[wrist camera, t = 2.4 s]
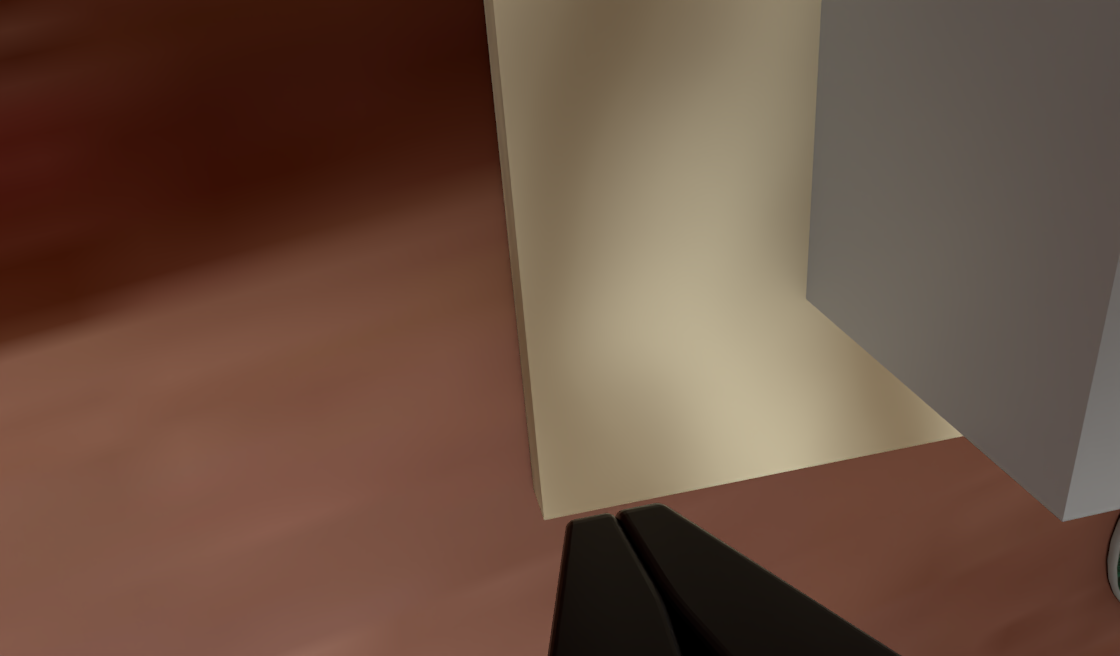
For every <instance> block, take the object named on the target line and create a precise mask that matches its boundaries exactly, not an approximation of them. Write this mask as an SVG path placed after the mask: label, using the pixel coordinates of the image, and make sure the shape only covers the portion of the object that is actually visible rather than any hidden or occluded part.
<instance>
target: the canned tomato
mask: <svg viewBox="0 0 1120 656" xmlns="http://www.w3.org/2000/svg"><path fill="white" fill-rule="evenodd" d="M1108 578H1109V582H1110V585H1111V587H1112V590H1113V593H1114V595H1115V596H1116V597H1117V599H1118V600H1119V601H1120V518H1119V520H1118V523H1117V525H1116V528H1115V531H1114V533H1113V536H1112V539H1111V543H1110V549H1109V554H1108Z"/></svg>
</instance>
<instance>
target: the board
mask: <svg viewBox="0 0 1120 656" xmlns="http://www.w3.org/2000/svg"><path fill="white" fill-rule="evenodd" d="M821 1H822V0H484V9H485V19H486V29H487V38H488V48H489V58H490V68H491V77H492V87H493V97H494V107H495V116H496V126H497V136H498V146H499V155H500V165H501V175H502V185H503V195H504V204H505V214H506V224H507V234H508V243H509V253H510V263H511V273H512V282H513V292H514V302H515V312H516V321H517V331H518V341H519V351H520V360H521V370H522V380H523V390H524V399H525V409H526V419H527V429H528V438H529V448H530V458H531V468H532V477H533V487H534V492H535V495H536V498H537V501H538V504H539V507H540V510H541V512H542V515H543V518H544V520H547V519H552V518H557V517H562V516H567V515H572V514H577V513H582V512H587V511H592V510H597V509H602V508H607V507H612V506H617V505H622V504H627V503H632V502H637V501H642V500H647V499H652V498H657V497H662V496H667V495H672V494H677V493H682V492H687V491H692V490H697V489H702V488H707V487H712V486H717V485H722V484H727V483H732V482H737V481H742V480H747V479H752V478H757V477H762V476H767V475H772V474H777V473H782V472H787V471H792V470H797V469H802V468H806V467H811V466H816V465H821V464H826V463H831V462H836V461H841V460H846V459H851V458H856V457H861V456H866V455H871V454H876V453H881V452H886V451H891V450H896V449H901V448H906V447H911V446H916V445H921V444H926V443H931V442H936V441H941V440H946V439H951V438H956V437H961V436H963V435H962V434H961V433H960V432H959V431H957V430H956V429H955V428H954V427H953V426H952V425H950V424H949V423H948V422H947V421H946V420H945V419H944V418H942V417H941V416H940V415H939V414H938V413H937V412H936V411H934V410H933V409H932V408H931V407H930V406H929V405H927V404H926V403H925V402H924V401H923V400H922V399H921V398H919V397H918V396H917V395H916V394H915V393H914V392H912V391H911V390H910V389H909V388H908V387H907V386H906V385H904V384H903V383H902V382H901V381H900V380H899V379H898V378H896V377H895V376H894V375H893V374H892V373H891V372H889V371H888V370H887V369H886V368H885V367H884V366H883V365H881V364H880V363H879V362H878V361H877V360H876V359H874V358H873V357H872V356H871V355H870V354H869V353H868V352H866V351H865V350H864V349H863V348H862V347H861V346H860V345H858V344H857V343H856V342H855V341H854V340H853V339H851V338H850V337H849V336H848V335H847V334H846V333H845V332H843V331H842V330H841V329H840V328H839V327H838V326H836V325H835V324H834V323H833V322H832V321H831V320H830V319H828V318H827V317H826V316H825V315H824V314H823V313H822V312H820V311H819V310H818V309H817V308H816V307H815V306H813V305H812V304H811V303H810V302H809V301H808V300H807V299H806V287H807V268H808V249H809V230H810V211H811V192H812V173H813V154H814V135H815V116H816V96H817V77H818V58H819V39H820V20H821Z"/></svg>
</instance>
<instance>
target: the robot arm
mask: <svg viewBox="0 0 1120 656" xmlns="http://www.w3.org/2000/svg"><path fill="white" fill-rule="evenodd" d="M548 656H901V655H899V654H898V653H896V652H895V651H893V650H891V649H890V648H888V647H887V646H885V645H884V644H882V643H880V642H879V641H877V640H876V639H874V638H873V637H871V636H869V635H868V634H866V633H865V632H863V631H862V630H860V629H859V628H857V627H855V626H854V625H852V624H851V623H849V622H848V621H846V620H844V619H843V618H841V617H840V616H838V615H837V614H835V613H834V612H832V611H830V610H829V609H827V608H826V607H824V606H823V605H821V604H819V603H818V602H816V601H815V600H813V599H812V598H810V597H808V596H807V595H805V594H804V593H802V592H801V591H799V590H798V589H796V588H794V587H793V586H791V585H790V584H788V583H787V582H785V581H783V580H782V579H780V578H779V577H777V576H776V575H774V574H772V573H771V572H769V571H768V570H766V569H765V568H763V567H762V566H760V565H758V564H757V563H755V562H754V561H752V560H751V559H749V558H747V557H746V556H744V555H743V554H741V553H740V552H738V551H736V550H735V549H733V548H732V547H730V546H729V545H727V544H726V543H724V542H722V541H721V540H719V539H718V538H716V537H715V536H713V535H711V534H710V533H708V532H707V531H705V530H704V529H702V528H701V527H699V526H697V525H696V524H694V523H693V522H691V521H690V520H688V519H686V518H685V517H683V516H682V515H680V514H679V513H677V512H675V511H674V510H672V509H671V508H669V507H668V506H666V505H663V504H660V503H653V504H648V505H644V506H639V507H634V508H629V509H624V510H621V511H619V512H618V513H617V515H616V517H615V516H614V515H611V514H609V513H604V514H599V515H594V516H589V517H584V518H579V519H574V520H571V521H570V522H569V523H568V524H567V526H566V530H565V537H564V544H563V551H562V558H561V565H560V573H559V580H558V587H557V594H556V601H555V608H554V615H553V622H552V629H551V636H550V643H549V650H548Z"/></svg>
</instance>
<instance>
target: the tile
mask: <svg viewBox="0 0 1120 656" xmlns="http://www.w3.org/2000/svg"><path fill="white" fill-rule="evenodd" d="M806 299H807V300H808V301H809V302H810V303H811V304H812V305H813V306H815V307H816V308H817V309H818V310H819V311H820V312H822V313H823V314H824V315H825V316H826V317H827V318H828V319H830V320H831V321H832V322H833V323H834V324H835V325H836V326H838V327H839V328H840V329H841V330H842V331H843V332H845V333H846V334H847V335H848V336H849V337H850V338H851V339H853V340H854V341H855V342H856V343H857V344H858V345H860V346H861V347H862V348H863V349H864V350H865V351H866V352H868V353H869V354H870V355H871V356H872V357H873V358H874V359H876V360H877V361H878V362H879V363H880V364H881V365H883V366H884V367H885V368H886V369H887V370H888V371H889V372H891V373H892V374H893V375H894V376H895V377H896V378H898V379H899V380H900V381H901V382H902V383H903V384H904V385H906V386H907V387H908V388H909V389H910V390H911V391H912V392H914V393H915V394H916V395H917V396H918V397H919V398H921V399H922V400H923V401H924V402H925V403H926V404H927V405H929V406H930V407H931V408H932V409H933V410H934V411H936V412H937V413H938V414H939V415H940V416H941V417H942V418H944V419H945V420H946V421H947V422H948V423H949V424H950V425H952V426H953V427H954V428H955V429H956V430H957V431H959V432H960V433H961V434H962V435H963V436H964V437H965V438H967V439H968V440H969V441H970V442H971V443H972V444H974V445H975V446H976V447H977V448H978V449H979V450H980V451H982V452H983V453H984V454H985V455H986V456H987V457H988V458H990V459H991V460H992V461H993V462H994V463H995V464H997V465H998V466H999V467H1000V468H1001V469H1002V470H1003V471H1005V472H1006V473H1007V474H1008V475H1009V476H1010V477H1011V478H1013V479H1014V480H1015V481H1016V482H1017V483H1018V484H1020V485H1021V486H1022V487H1023V488H1024V489H1025V490H1026V491H1028V492H1029V493H1030V494H1031V495H1032V496H1033V497H1035V498H1036V499H1037V500H1038V501H1039V502H1040V503H1041V504H1043V505H1044V506H1045V507H1046V508H1047V509H1048V510H1049V511H1051V512H1052V513H1053V514H1054V515H1055V516H1056V517H1058V518H1059V519H1060V520H1061V521H1062V522H1063V521H1068V520H1072V519H1077V518H1081V517H1086V516H1090V515H1095V514H1099V513H1104V512H1108V511H1113V510H1117V509H1120V0H822V1H821V20H820V39H819V58H818V77H817V96H816V116H815V135H814V154H813V173H812V192H811V211H810V230H809V249H808V268H807V287H806Z"/></svg>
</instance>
